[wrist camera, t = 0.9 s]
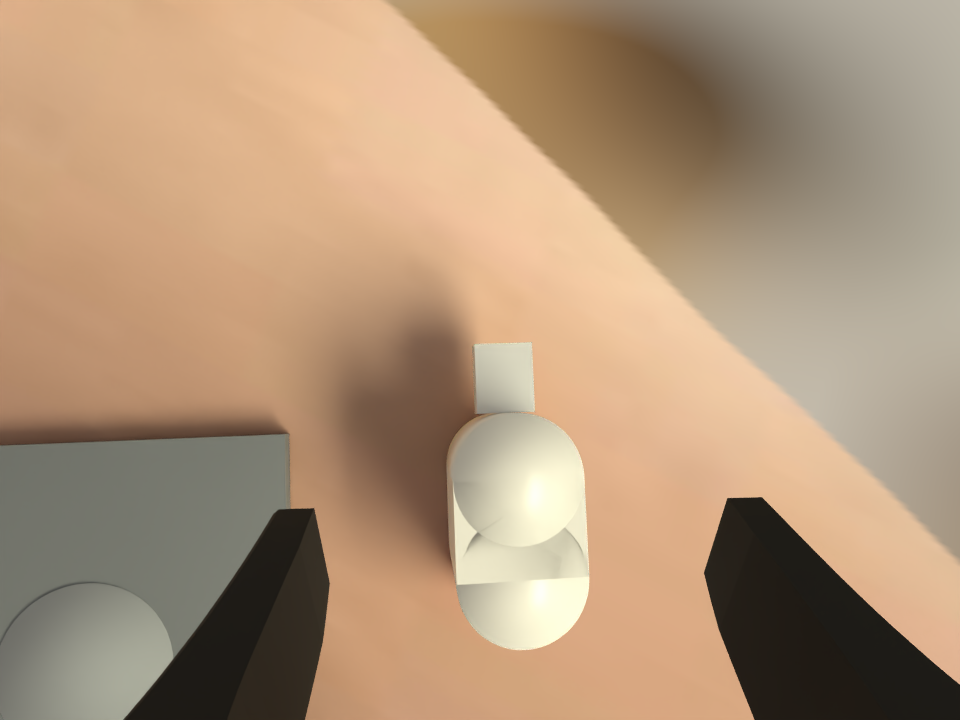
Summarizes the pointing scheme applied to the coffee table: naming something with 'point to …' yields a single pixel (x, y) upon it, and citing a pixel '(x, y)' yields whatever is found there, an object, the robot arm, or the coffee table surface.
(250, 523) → the mat
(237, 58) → the coffee table surface
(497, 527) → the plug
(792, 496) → the coffee table surface
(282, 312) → the coffee table surface
